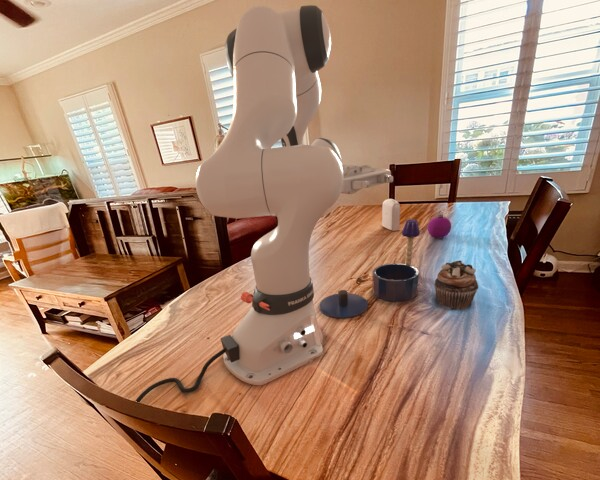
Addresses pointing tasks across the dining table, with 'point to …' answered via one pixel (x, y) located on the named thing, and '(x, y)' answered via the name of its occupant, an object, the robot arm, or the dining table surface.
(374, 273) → the pot
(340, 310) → the pot lid
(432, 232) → the christmas ornament
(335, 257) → the dining table surface
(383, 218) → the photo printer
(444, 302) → the cupcake
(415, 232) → the toy lamp
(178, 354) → the dining table surface
